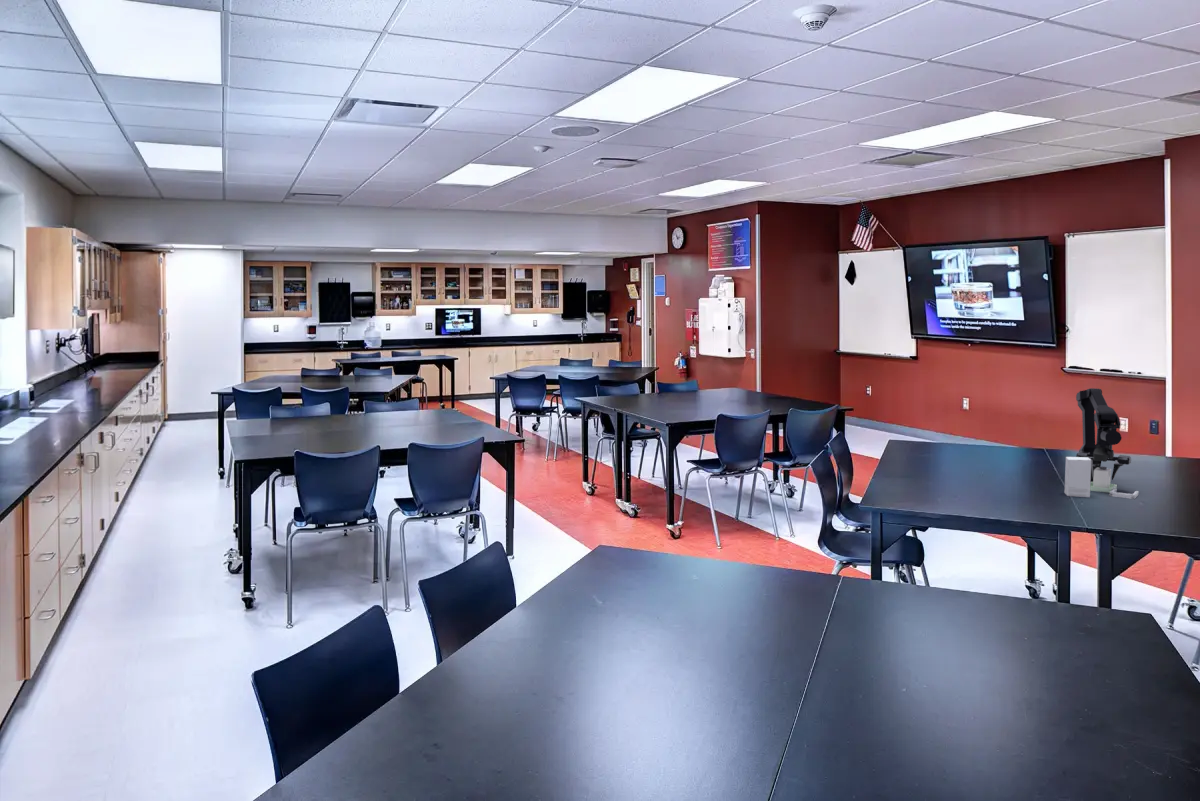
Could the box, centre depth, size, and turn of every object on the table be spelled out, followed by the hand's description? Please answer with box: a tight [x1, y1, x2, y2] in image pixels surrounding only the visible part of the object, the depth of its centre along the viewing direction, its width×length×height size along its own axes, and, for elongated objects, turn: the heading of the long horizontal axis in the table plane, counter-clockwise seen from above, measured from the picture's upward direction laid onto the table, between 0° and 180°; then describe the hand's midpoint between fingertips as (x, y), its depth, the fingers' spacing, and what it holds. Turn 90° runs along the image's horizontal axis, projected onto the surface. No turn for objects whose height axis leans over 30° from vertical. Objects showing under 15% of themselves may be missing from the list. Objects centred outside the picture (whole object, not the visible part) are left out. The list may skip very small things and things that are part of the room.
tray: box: [1090, 482, 1118, 493], centre depth 344 cm, size 9×11×2 cm
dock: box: [1108, 489, 1139, 500], centre depth 333 cm, size 8×10×2 cm
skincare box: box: [1064, 456, 1092, 498], centre depth 333 cm, size 8×7×16 cm
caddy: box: [1093, 465, 1112, 489], centre depth 344 cm, size 5×7×9 cm
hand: (1102, 478), depth 344 cm, fingers open, 7 cm apart
